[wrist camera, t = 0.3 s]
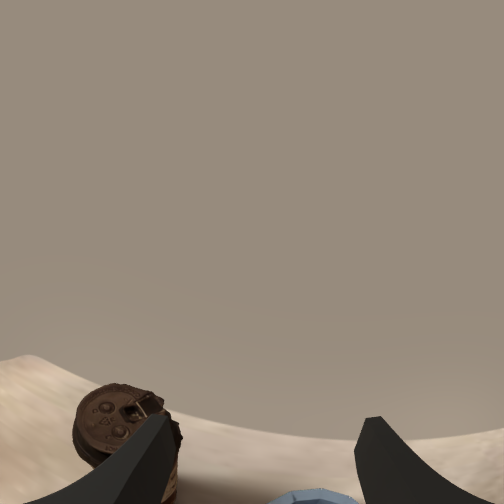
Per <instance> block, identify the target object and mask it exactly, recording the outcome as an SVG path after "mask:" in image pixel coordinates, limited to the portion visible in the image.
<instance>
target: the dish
mask: <svg viewBox="0 0 504 504" xmlns="http://www.w3.org/2000/svg"><path fill="white" fill-rule="evenodd" d="M349 497H350V496H347V495H344V494H340V493H336V492H333V491H329V490H326V489H323V488H322V490H321V488H319V489H310V490H298V491H291V492H288V493H286V494H284V495H282V496H281V497H279V498H277V499H275V500H273V501H271V502H269V503H267V504H359V503H358V502H356V501H355V500H354V499H353V498H352V497H350V498H349Z"/></svg>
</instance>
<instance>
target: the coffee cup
mask: <svg viewBox="0 0 504 504" xmlns="http://www.w3.org/2000/svg"><path fill="white" fill-rule="evenodd" d="M163 405H164V399H162V398H161V397H158V396H156V395H155V394H154V393H153V392H150V391H145V390H142V389H138V388H135V387H132V386H130V385H126V384H121V385H120V384H116V383H112V384H109V385H104V386H103V387H100V388H98V389H96V390H94V391H92V392H90V393H89V394H88V395H86V396H85V397H84V398H83V400H82V401H81V402H80V404H79V405H78V408H77V412H76V418H75V421H74V425H73V431H72V436H73V444H74V446H75V449H76V451H77V453H78V455H79V456H80V457H81V458H82V459H83V460H84V461H86V462H87V463H88V464H89V465H91V467H92V468H93V469H95V468H96V467H98V466H99V465H100V464H102V463H103V462H104V461H105V460H106V459H107V458H109V457H110V456H111V455H112V454H113V453H114V452H115V451H116V450H118V449H119V448H120V447H121V446H122V445H123V444H124V443H125V442H126V441H127V440H128V439H129V438H130V437H131V436H132V435H133V434H134V433H135V431H136V430H137V429H138V428H139V427H140V426H141V425H142V424H143V423H144V422H145V420H146V419H147V418H148V417H149V416H150V415H151V414H158V415H164V416H168V419H169V423H170V427H171V431H172V435H173V439H174V442H175V446H176V452H175V457H174V463H173V467H172V472H171V475H170V478H169V481H168V484H167V487H166V489H165V492H164V495H163V498H162V501H161V504H173V503H174V501H175V499H176V492H177V491H176V486H177V467H178V462H177V461H178V452H179V448H180V447H181V440H182V439H183V436H182V435H181V433H180V432H181V431H180V429H179V426H178V425H179V423H178V422H176V421H174V420H172V419H171V414H170V413H169V412H168V411H167V410H165V409H164V408H163Z"/></svg>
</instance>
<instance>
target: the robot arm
mask: <svg viewBox="0 0 504 504" xmlns="http://www.w3.org/2000/svg"><path fill="white" fill-rule="evenodd" d="M175 452H176V446H175V442H174V439H173V435H172V431H171V427H170V423H169V419H168V416H164V415H158V414H151V415H150V416H149V417H148V418H147V419H146V420H145V422H144V423H143V424H142V425H141V426H140V427H139V428H138V429H137V430H136V431H135V433H134V434H133V435H132V436H131V437H130V438H129V439H128V440H127V441H126V442H125V443H124V444H123V445H122V446H121V447H120V448H119V449H118V450H116V451H115V452H114V453H113V454H112V455H111V456H110V457H109V458H107V459H106V460H105V461H104V462H103V463H102V464H100V465H99V466H98V467H96V468H95V469H94V470H92V471H91V472H90V473H88V474H87V475H85V476H84V477H82V478H81V479H79V480H77V481H76V482H74V483H72V484H71V485H69V486H67V487H65V488H63V489H61V490H59V491H57V492H55V493H52V494H50V495H48V496H45V497H43V498H40V499H38V500H35V501H31V502H28V503H24V504H161V501H162V498H163V495H164V492H165V489H166V487H167V484H168V481H169V478H170V475H171V472H172V467H173V463H174V457H175ZM354 455H355V462H356V469H357V474H358V478H359V481H360V485H361V488H362V492H363V495H364V499H365V502H366V504H494V503H491V502H488V501H486V500H483V499H481V498H478V497H476V496H474V495H472V494H470V493H468V492H466V491H464V490H463V489H461V488H459V487H457V486H456V485H454V484H452V483H451V482H449V481H448V480H447V479H445V478H444V477H442V476H441V475H440V474H438V473H437V472H436V471H434V470H433V469H432V468H431V467H430V466H429V465H427V464H426V463H425V462H424V461H423V460H422V459H421V458H420V457H419V456H418V455H417V454H416V453H415V452H414V451H413V450H412V449H411V448H410V447H409V446H408V445H407V444H406V443H405V442H404V441H403V440H402V439H401V438H400V437H399V436H398V435H397V434H396V433H395V431H394V430H393V429H392V428H391V427H390V426H389V425H388V424H387V422H386V421H385V420H384V419H383V418H382V417H381V416H379V417H371V418H366V419H365V422H364V425H363V428H362V430H361V433H360V436H359V438H358V441H357V444H356V446H355V449H354Z"/></svg>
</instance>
